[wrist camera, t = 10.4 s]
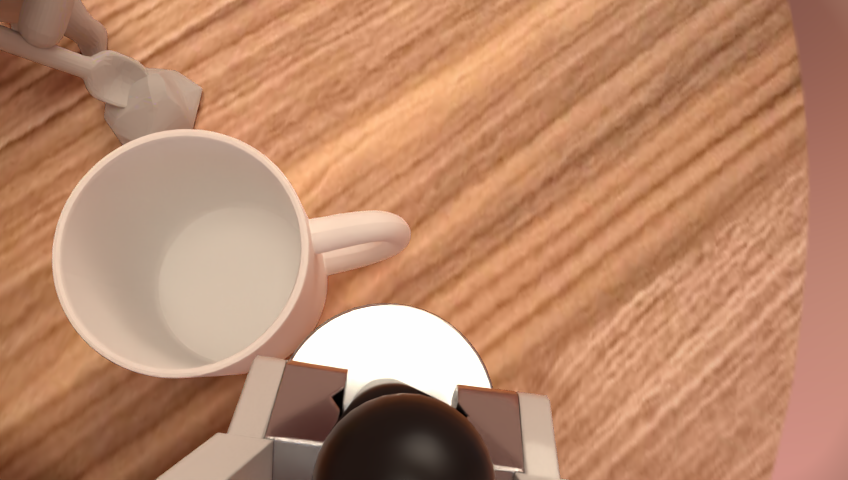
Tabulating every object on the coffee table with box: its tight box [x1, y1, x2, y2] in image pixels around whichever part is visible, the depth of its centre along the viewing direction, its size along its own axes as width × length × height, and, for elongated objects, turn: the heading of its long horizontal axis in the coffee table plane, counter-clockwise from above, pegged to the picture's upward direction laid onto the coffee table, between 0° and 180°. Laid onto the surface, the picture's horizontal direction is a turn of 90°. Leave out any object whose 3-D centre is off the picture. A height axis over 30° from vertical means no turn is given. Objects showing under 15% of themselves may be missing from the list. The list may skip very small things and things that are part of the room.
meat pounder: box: [290, 303, 496, 480], centre depth 13 cm, size 6×6×14 cm
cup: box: [52, 129, 411, 378], centre depth 29 cm, size 8×12×10 cm
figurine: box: [0, 0, 202, 145], centre depth 27 cm, size 10×9×15 cm
